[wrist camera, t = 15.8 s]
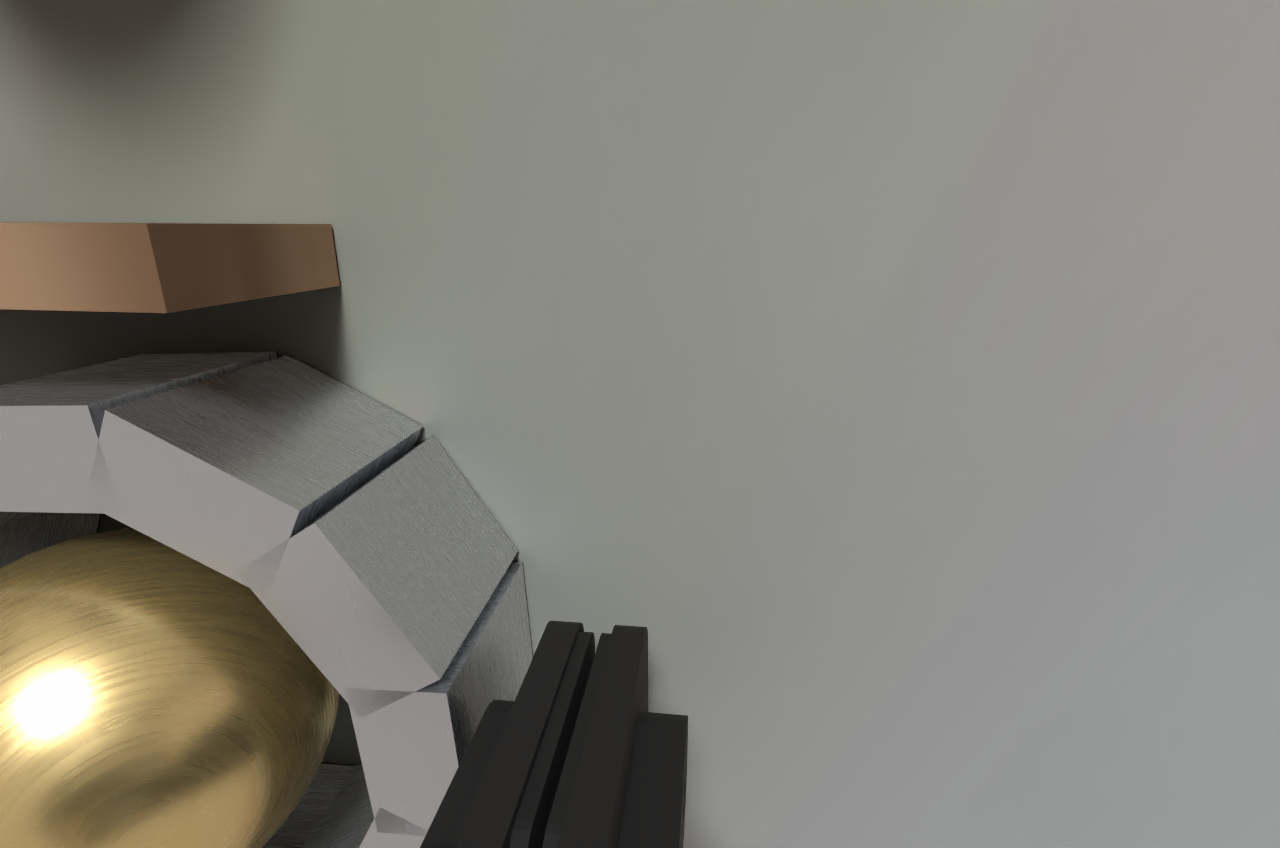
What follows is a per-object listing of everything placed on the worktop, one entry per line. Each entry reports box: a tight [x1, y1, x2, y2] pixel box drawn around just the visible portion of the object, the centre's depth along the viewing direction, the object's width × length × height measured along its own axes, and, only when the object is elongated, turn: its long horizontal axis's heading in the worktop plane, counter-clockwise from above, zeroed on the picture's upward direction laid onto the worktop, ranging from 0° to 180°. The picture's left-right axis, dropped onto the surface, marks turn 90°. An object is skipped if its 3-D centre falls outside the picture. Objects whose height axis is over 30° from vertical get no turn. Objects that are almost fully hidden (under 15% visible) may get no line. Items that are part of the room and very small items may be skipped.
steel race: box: [0, 352, 533, 848], centre depth 11 cm, size 11×11×4 cm
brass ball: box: [0, 528, 340, 848], centre depth 10 cm, size 6×6×6 cm
